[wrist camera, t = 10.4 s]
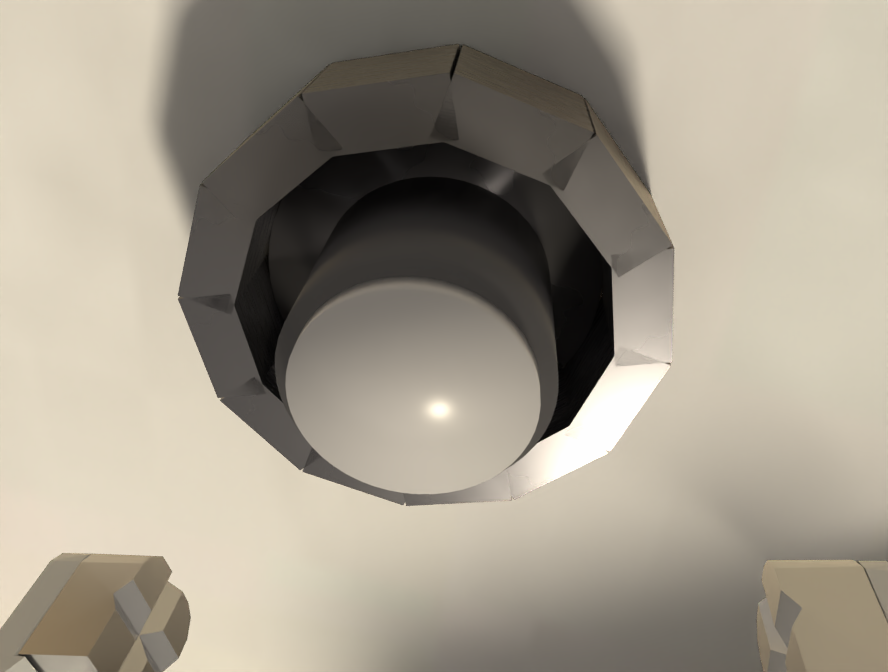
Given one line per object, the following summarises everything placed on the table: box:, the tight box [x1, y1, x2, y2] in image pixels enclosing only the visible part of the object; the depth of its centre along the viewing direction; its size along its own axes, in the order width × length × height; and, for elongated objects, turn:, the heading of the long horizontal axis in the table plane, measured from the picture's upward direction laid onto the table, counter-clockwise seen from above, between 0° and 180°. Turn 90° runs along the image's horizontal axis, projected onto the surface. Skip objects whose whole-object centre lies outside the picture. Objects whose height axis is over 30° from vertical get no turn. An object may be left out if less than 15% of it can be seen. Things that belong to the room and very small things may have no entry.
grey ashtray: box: [178, 44, 674, 506], centre depth 16 cm, size 10×10×3 cm
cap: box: [275, 176, 558, 494], centre depth 15 cm, size 6×6×4 cm
